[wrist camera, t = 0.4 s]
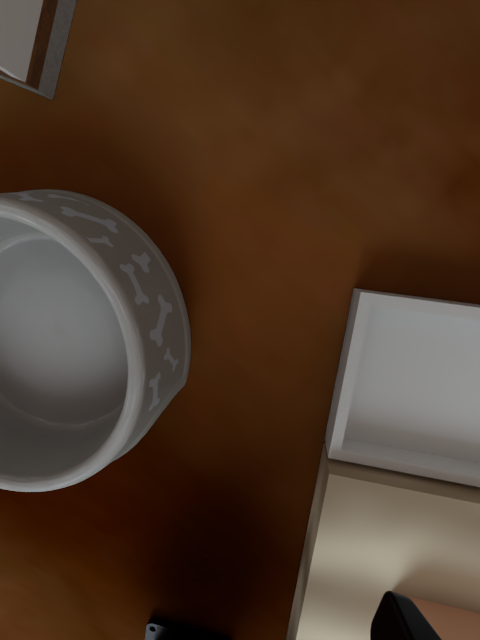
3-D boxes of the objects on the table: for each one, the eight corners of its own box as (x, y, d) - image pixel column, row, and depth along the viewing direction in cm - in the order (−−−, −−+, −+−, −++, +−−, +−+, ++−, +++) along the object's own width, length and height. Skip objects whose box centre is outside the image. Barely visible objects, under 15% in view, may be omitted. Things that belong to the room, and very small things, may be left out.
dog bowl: (246, 318, 20) (231, 341, 15) (85, 499, 25) (30, 564, 19) (32, 131, 20) (-59, 87, 15) (-92, 347, 24) (-196, 372, 19)
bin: (574, 485, 19) (606, 511, 17) (324, 438, 21) (328, 457, 19) (634, 325, 17) (679, 334, 15) (353, 287, 19) (360, 291, 17)
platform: (494, 696, 22) (524, 762, 19) (285, 641, 24) (284, 694, 21) (572, 489, 19) (623, 532, 16) (323, 443, 21) (329, 473, 18)
